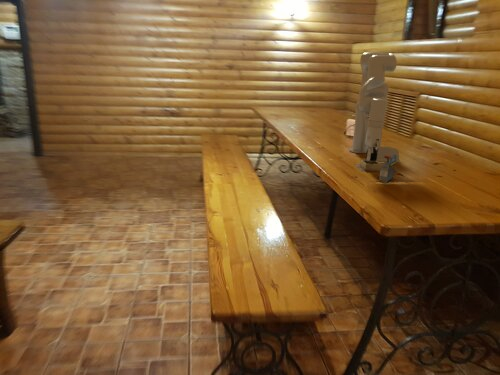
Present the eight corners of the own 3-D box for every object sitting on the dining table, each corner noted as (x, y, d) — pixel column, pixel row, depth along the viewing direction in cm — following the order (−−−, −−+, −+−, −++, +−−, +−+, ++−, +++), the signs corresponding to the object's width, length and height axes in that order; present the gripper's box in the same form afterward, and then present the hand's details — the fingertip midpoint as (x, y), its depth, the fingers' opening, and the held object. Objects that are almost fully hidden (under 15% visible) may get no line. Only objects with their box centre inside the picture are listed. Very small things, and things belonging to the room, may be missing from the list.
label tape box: (385, 178, 186) (388, 153, 182) (393, 180, 184) (397, 155, 180) (378, 182, 180) (381, 156, 176) (386, 184, 177) (390, 158, 173)
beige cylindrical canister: (364, 167, 199) (367, 146, 196) (372, 167, 199) (375, 146, 196) (367, 169, 195) (370, 148, 191) (375, 169, 195) (378, 149, 192)
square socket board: (359, 166, 201) (361, 154, 199) (389, 166, 202) (391, 154, 199) (364, 170, 193) (366, 157, 191) (395, 171, 194) (397, 158, 192)
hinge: (370, 163, 212) (371, 145, 212) (368, 164, 217) (368, 146, 217) (400, 164, 212) (401, 146, 212) (397, 165, 217) (397, 147, 217)
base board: (353, 166, 205) (353, 164, 204) (386, 167, 206) (386, 164, 205) (361, 174, 192) (362, 171, 191) (396, 174, 193) (397, 172, 192)
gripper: (362, 121, 198) (358, 155, 203) (374, 126, 181) (369, 163, 187) (377, 121, 198) (372, 155, 204) (390, 127, 182) (384, 163, 188)
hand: (371, 158), depth 196 cm, fingers open, 5 cm apart
